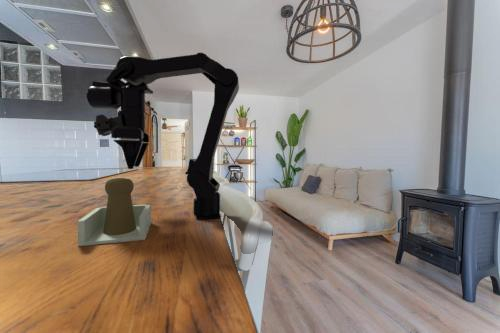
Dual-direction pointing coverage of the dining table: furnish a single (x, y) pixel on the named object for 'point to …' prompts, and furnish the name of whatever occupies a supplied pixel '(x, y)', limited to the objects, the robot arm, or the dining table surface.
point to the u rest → (93, 234)
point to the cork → (119, 207)
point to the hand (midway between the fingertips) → (133, 167)
